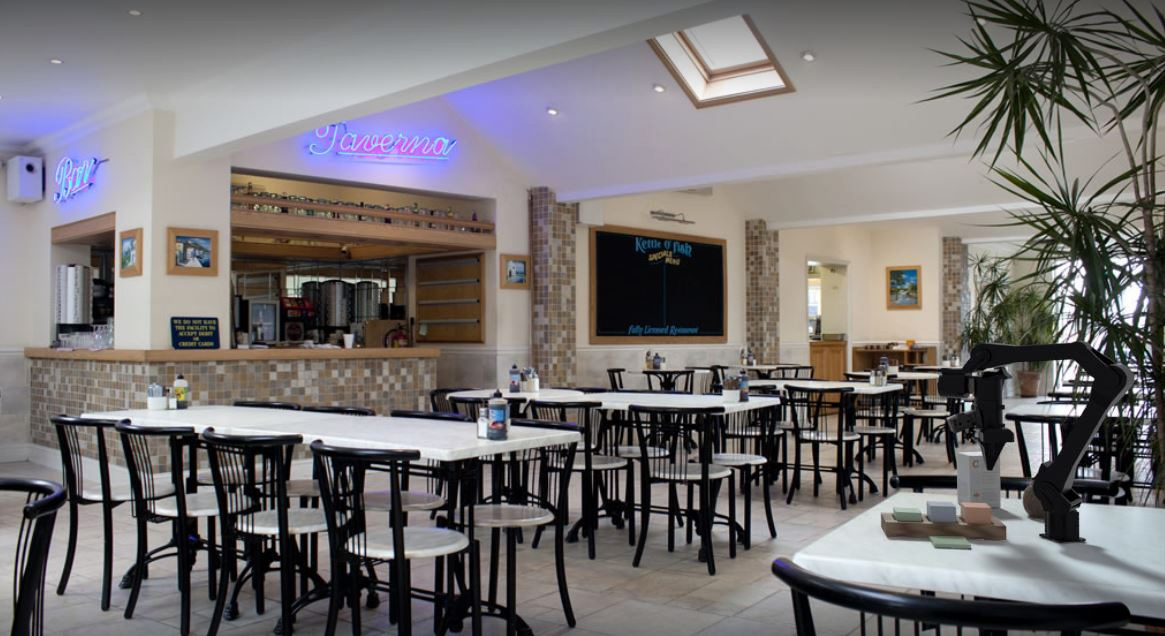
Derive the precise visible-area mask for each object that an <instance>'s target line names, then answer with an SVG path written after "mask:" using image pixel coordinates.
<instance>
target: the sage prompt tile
mask: <svg viewBox="0 0 1165 636" xmlns="http://www.w3.org/2000/svg"><path fill="white" fill-rule="evenodd" d="M928 540H929V542H930V543H931V545H932V546H933V548H938V547H953V548H952V549H962V548H971V549H972V544H971V543H970V542H969V541H968V539H966V538H965V537H954V536H929V538H928Z"/></svg>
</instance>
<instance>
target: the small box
mask: <svg viewBox="0 0 1165 636" xmlns="http://www.w3.org/2000/svg"><path fill="white" fill-rule="evenodd" d="M956 481H957V483H956V485H957V487H956V489H957V493H956V494H957V505H959V506H961V502H967V503H986V504H988V505H989V506H990V507H991V509H992V508H1001V507H1002V506H1001V505H1002V504H1001V454H1000V455H999V457H998V460H997V462H996V464H995V466H994V468H993V470H992V471H988V470H986V466H985V463H984V459H983V455H982V452H981V451H967V452H966V451H965V452H964V451H962V452H960V451H959V452H956Z"/></svg>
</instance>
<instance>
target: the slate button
mask: <svg viewBox="0 0 1165 636" xmlns="http://www.w3.org/2000/svg"><path fill="white" fill-rule="evenodd" d="M926 514H927V520H928V521H929V522H953V523H956V515H957V506H956V505H955V504H954V503H953V502H952V501H929V500H928V501H926Z"/></svg>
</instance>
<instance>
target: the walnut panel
mask: <svg viewBox="0 0 1165 636" xmlns="http://www.w3.org/2000/svg"><path fill="white" fill-rule="evenodd" d="M880 527H881V529H882V531H883V533H884V532H885V533H884V534H885V536H886V535H887V536H886V537H898V536H905V537H904V538H923V539H924V538H925V539H926V538H928V539H929V536H954V537H965V538H966V540H973V539H984V540H983V541H998V540H1007V526H1006V524H1004V523H1003V522H1002V521H1001V520H1000V519H999V518H998V517H997V516H994V515H991V524H981V523H963V522H962V520H961V514H956V523H953V522H929V521H928V520H927V513H922V521H899V520H894V518H893V512H880Z"/></svg>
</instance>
